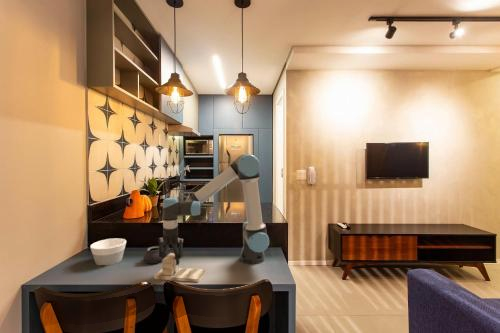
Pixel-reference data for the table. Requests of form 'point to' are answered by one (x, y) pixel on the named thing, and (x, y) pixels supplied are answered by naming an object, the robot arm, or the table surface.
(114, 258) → the bowl
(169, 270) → the sanding block
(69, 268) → the table surface
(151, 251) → the teapot
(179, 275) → the board
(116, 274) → the table surface
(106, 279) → the table surface
